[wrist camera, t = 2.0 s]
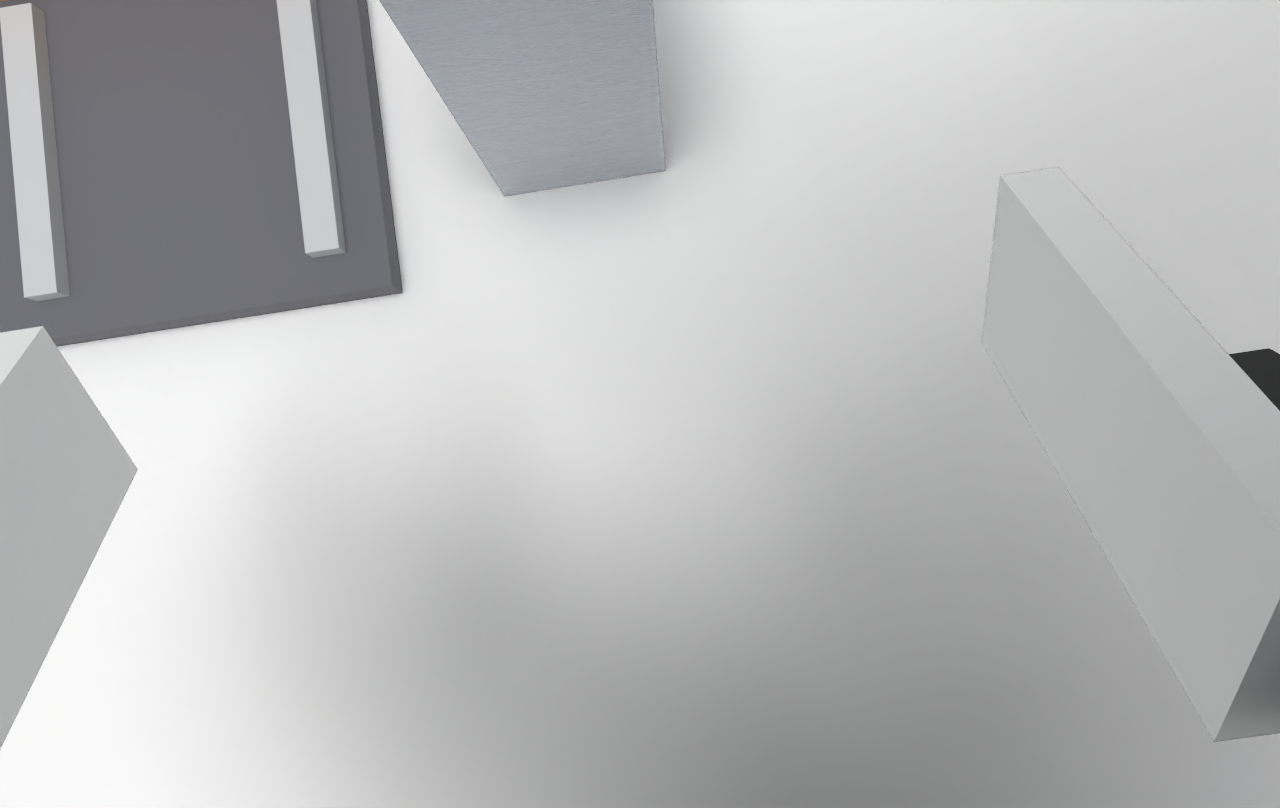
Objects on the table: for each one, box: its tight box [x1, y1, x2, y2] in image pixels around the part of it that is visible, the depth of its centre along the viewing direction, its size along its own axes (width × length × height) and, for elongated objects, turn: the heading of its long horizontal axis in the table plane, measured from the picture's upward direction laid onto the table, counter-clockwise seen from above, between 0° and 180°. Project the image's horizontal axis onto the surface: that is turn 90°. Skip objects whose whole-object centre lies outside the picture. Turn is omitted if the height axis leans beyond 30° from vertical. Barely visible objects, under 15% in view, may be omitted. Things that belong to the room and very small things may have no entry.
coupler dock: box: [0, 0, 402, 346], centre depth 28 cm, size 12×12×4 cm
